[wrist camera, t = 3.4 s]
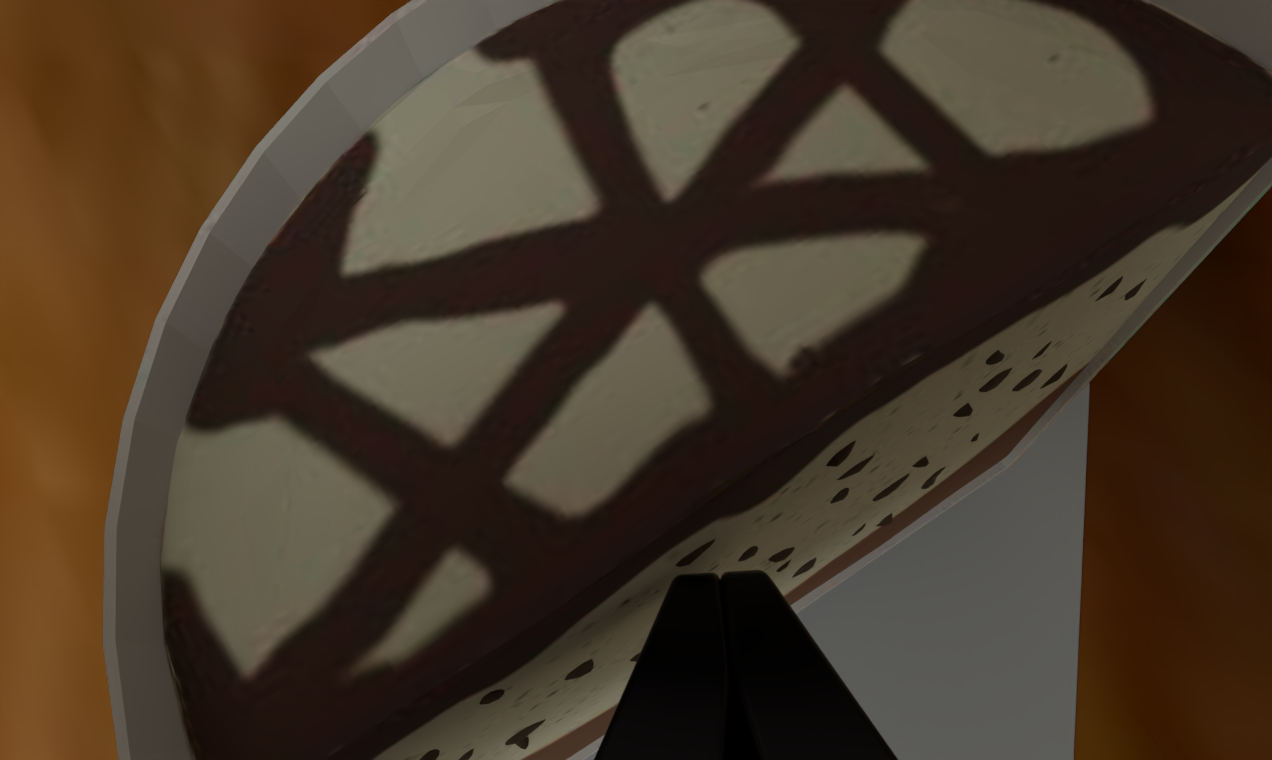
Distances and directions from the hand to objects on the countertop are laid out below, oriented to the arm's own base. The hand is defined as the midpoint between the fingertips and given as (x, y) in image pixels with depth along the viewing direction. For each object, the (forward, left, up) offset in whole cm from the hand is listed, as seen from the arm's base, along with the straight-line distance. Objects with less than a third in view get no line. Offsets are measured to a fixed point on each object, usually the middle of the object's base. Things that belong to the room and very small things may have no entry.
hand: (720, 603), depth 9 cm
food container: (+2, +1, -8) cm, 9 cm away
